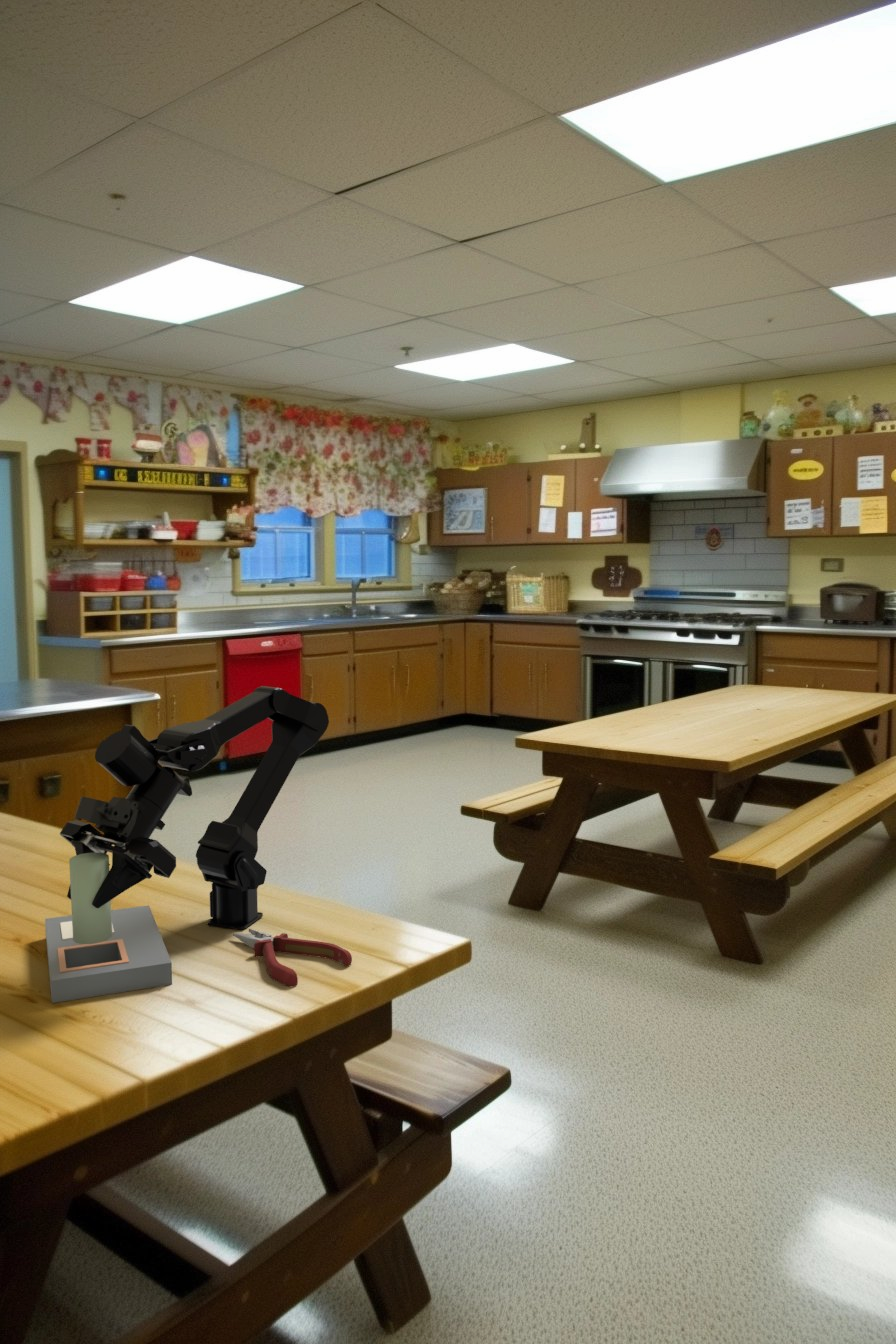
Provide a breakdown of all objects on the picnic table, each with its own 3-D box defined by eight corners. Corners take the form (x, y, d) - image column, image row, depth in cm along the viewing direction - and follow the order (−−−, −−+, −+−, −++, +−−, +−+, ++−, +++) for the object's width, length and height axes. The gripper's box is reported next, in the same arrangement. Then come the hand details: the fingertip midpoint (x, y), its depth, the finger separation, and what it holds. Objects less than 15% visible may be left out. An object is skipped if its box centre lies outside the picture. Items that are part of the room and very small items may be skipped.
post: (115, 929, 140) (112, 851, 139) (108, 943, 136) (104, 863, 134) (77, 930, 140) (74, 853, 138) (69, 945, 135) (65, 864, 134)
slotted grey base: (172, 984, 136) (171, 961, 136) (52, 1003, 130) (50, 979, 130) (149, 923, 158) (149, 904, 158) (45, 938, 152) (45, 917, 152)
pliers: (272, 929, 157) (272, 913, 157) (356, 967, 143) (356, 949, 142) (207, 950, 149) (207, 933, 149) (289, 993, 135) (288, 974, 134)
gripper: (68, 764, 143) (0, 859, 136) (155, 781, 133) (86, 886, 125) (117, 807, 151) (55, 900, 143) (203, 826, 140) (141, 928, 133)
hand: (82, 902), depth 136 cm, fingers closed on post, 5 cm apart
